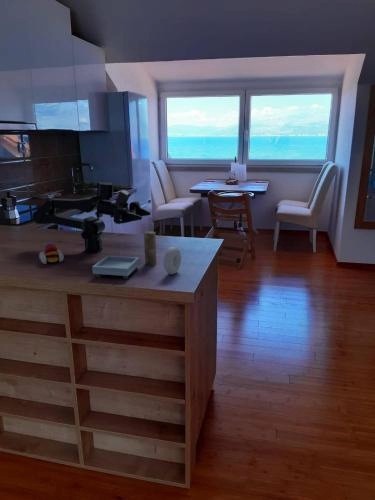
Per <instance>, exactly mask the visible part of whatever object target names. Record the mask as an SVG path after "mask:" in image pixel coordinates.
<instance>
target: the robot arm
mask: <svg viewBox="0 0 375 500" xmlns="http://www.w3.org/2000/svg"><path fill="white" fill-rule="evenodd" d="M113 196H114V183H113V182H100V181H98V182H96V195H93V196H90V197H84V198H79V199H76V198H56V197H52V198H48V199H47V200H46V201H45V202H44V203H43V204H42V205H41V206H40V207H39V208H38V209H37V210H35V211H34V212H33V213H32V216H31V217H32V220H33V222H34V224H36V225H49V224H51V225H52V224H53V225H57V226H61V227H62V226H63V227H69V228H71V229H72V228H73V229H77V230H81V231H82V232H81V234H80V235H81V239H83V240H84V249H83V252H84V253H96V254H97V253H99V252H100V251H102V250H103V249H104V247H103V240H102V238H101V236H102V235H103V232H104V230H105V228H106V224H105V222H104V221H103V219H100V218H102V217H103V216H104V215H105V216H110V218H113V222H114V224H116V225H121V224H122V225H123V224H126V223H132V222H136V221H140V220H142V219H143V217H145V216H146V217H147V216H151V211H148V209H147V210H146V209H144V208H143V207H142V206H141V205H140V202H139V201H137V200H136V201H135V200H134V201H131V202H130V203H129V202H128V200H129V198H130V197H131V196H132V194H131V192H129V191H128V190H125V189H123V190H120V191H119V193H118V195H117V197H116V199H115V201H110V200H111V199H113V198H114V197H113ZM57 209H70V210H73V209H74V210H78V211H79V212H83V213H87V214H88V213H92V212H94V211H95V212H94V215H95V216H96V217H95V216H91V215H90V216H88V217H86V218H78V217H74V216H73V217H72V216H68V215H63V214H58V213H56V210H57Z"/></svg>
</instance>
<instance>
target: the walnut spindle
mask: <svg viewBox="0 0 375 500" xmlns="http://www.w3.org/2000/svg"><path fill="white" fill-rule="evenodd" d="M156 233H157V232H156V231H153V230H151V231H144V232H143V243H144V264H145V266H148V267H153V266H156V265H157V264H158V263H157V240H156V239H157V238H156V237H157V236H156Z"/></svg>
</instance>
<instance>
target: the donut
mask: <svg viewBox="0 0 375 500" xmlns="http://www.w3.org/2000/svg"><path fill="white" fill-rule="evenodd" d="M181 263H182V254H181V251H180V249H179V248H178V247H177V246H170V247H169V248H167V250H166V251H165V253H164V256H163V268H164V271H165V272H166V274H169V275H174V274H176V273H177V272H178V271H179V270H180V267H181Z"/></svg>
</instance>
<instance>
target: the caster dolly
mask: <svg viewBox="0 0 375 500" xmlns="http://www.w3.org/2000/svg"><path fill="white" fill-rule="evenodd" d="M140 265H141V258H140V257H138V256H137V257H135V256H119V255H105V257H103V258H102V259H101V260H99V261H98V262H96V263H95V264H94V265H92V267H91V268H92V269H91V270H92V275H93V274H95V276H96V278H97V279H98V278H101V277H102V275H109V276H122V279H123V280H129V275H130V274H132V273H133V272H134V271H137V270H138V267H139V266H140Z"/></svg>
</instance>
